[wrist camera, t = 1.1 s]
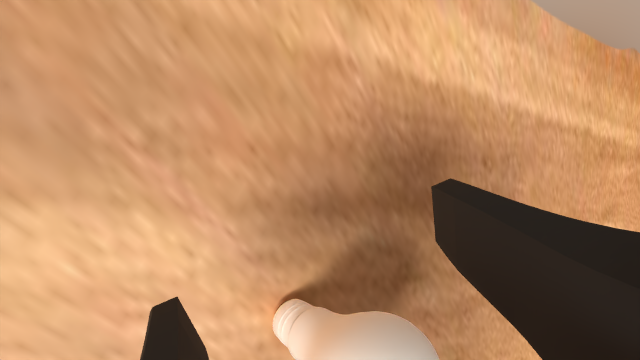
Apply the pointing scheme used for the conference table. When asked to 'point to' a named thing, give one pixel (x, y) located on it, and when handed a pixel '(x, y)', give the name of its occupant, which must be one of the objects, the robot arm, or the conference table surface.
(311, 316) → the lightbulb
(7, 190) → the conference table surface
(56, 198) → the conference table surface
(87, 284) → the conference table surface
